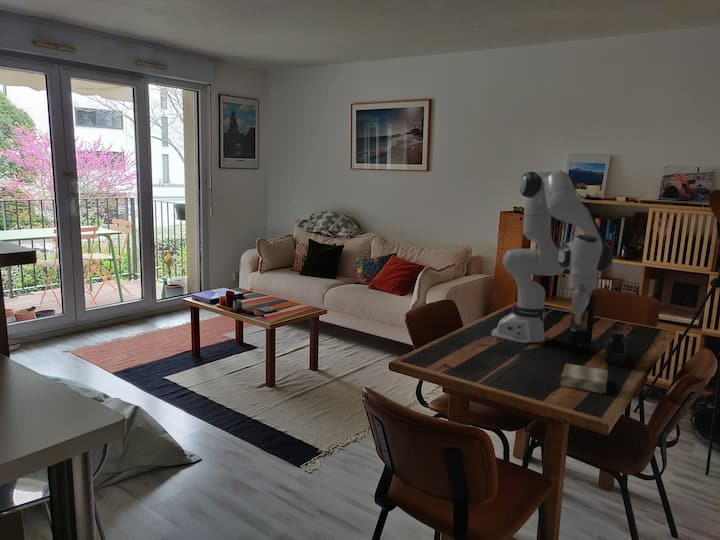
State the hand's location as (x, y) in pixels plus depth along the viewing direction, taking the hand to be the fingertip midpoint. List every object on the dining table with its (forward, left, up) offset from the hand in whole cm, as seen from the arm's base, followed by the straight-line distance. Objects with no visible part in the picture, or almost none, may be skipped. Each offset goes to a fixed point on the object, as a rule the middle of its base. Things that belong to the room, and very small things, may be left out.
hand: (578, 321), depth 190 cm
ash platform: (+4, -4, -21) cm, 21 cm away
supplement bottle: (+12, +24, -20) cm, 34 cm away
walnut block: (0, 0, -2) cm, 2 cm away
